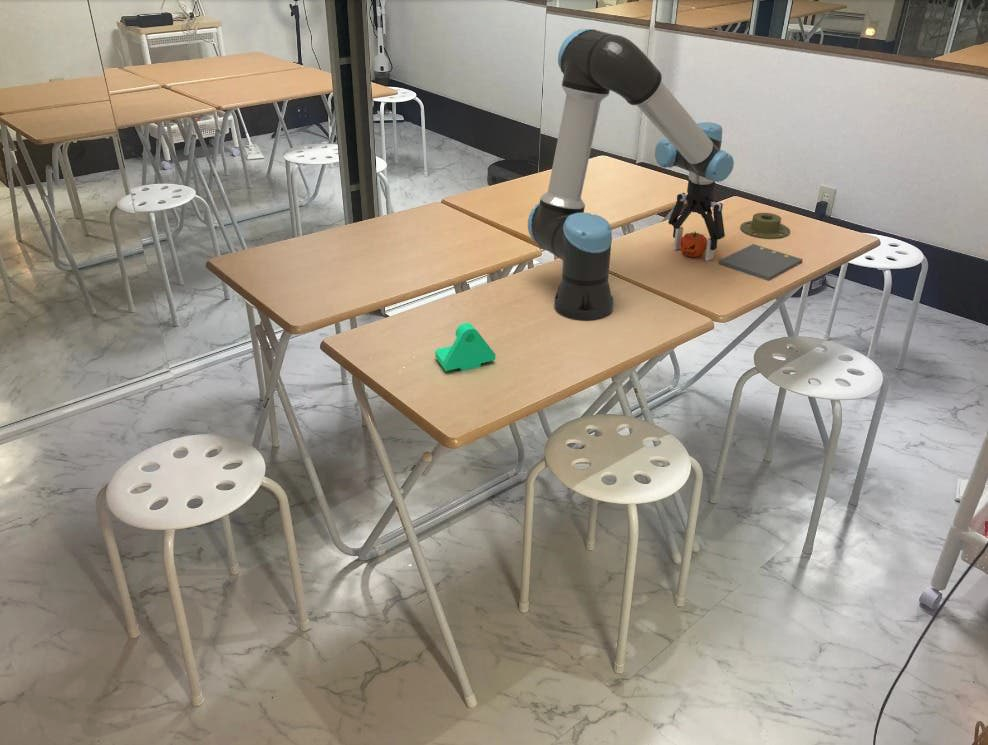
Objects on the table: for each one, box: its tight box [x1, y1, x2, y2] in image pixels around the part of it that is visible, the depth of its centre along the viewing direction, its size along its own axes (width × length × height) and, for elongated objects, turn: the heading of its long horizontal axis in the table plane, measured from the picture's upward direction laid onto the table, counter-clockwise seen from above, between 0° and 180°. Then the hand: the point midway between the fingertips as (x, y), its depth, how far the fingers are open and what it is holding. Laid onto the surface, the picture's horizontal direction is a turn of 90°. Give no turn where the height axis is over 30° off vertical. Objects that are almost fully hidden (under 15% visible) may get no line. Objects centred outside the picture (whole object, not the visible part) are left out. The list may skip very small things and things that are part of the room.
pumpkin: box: [680, 231, 708, 258], centre depth 232 cm, size 8×8×7 cm
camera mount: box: [434, 322, 496, 372], centre depth 180 cm, size 12×8×10 cm, turn 114°
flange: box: [739, 212, 791, 240], centre depth 250 cm, size 5×15×15 cm
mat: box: [718, 243, 804, 281], centre depth 228 cm, size 18×16×1 cm
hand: (692, 254), depth 234 cm, fingers open, 10 cm apart
